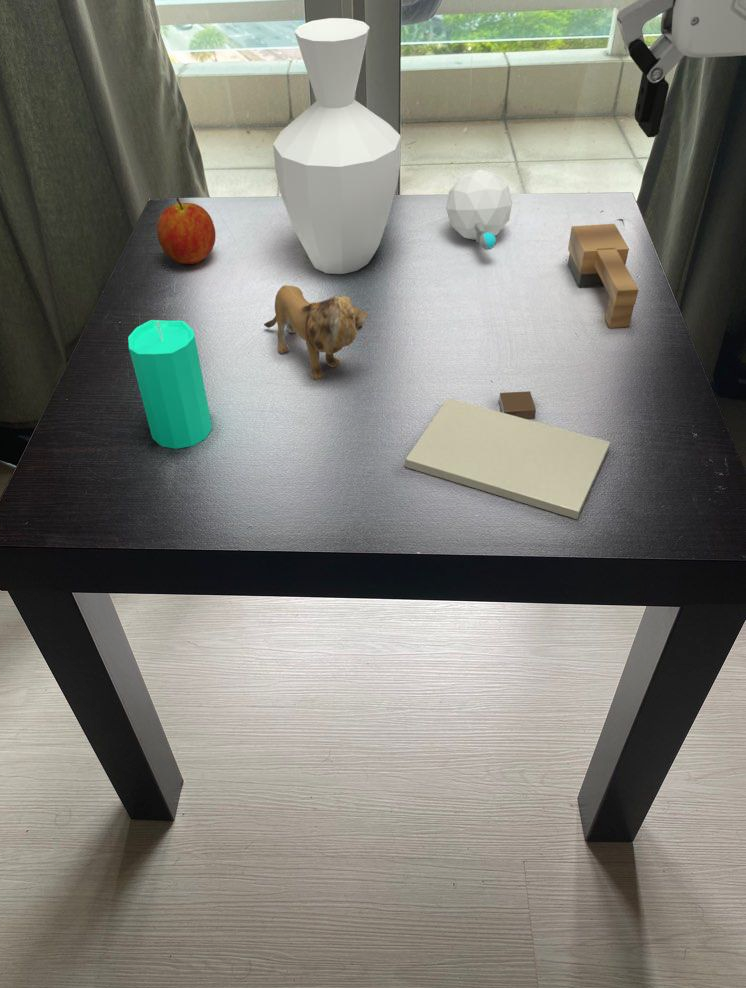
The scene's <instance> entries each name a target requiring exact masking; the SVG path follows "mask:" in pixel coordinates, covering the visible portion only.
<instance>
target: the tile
mask: <svg viewBox="0 0 746 988" xmlns="http://www.w3.org/2000/svg"><path fill="white" fill-rule="evenodd" d="M610 448H611V441H609V440H605V439H602V438H598V437H594V436H590V435H586V434H582V433H579V432H575V431H572V430H568V429H564V428H561V427H557V426H553V425H550V424H547V423H542V422H539V421H534V420H531V419H529V418H527V419H524V418H520V417H517V416H513V415H509V414H506V413H502V411H497V410H494V409H489V408H486V407H483V406H479V405H475V404H473V403H468V402H466V401H461V400H457V399H454V398H450V397H447V398H446V400H445V401H444V402H443V404H442V405H441V407H440V408H439V410H438V411H437V412H436V414H435V416H434V417H433V418H432V419H431V421H430V423H429V424H428V426H427V427H426V429H425V430H424V431H423V433H422V434H421V436H420V437H419V439H418V440H417V442H416V443H415V444H414V446H413V448H412V449H411V451H410V452H409V453H408V455H407V456H406V457H405V459H404V460H405V463H404V464H405V465H404V467H405V468H408V469H411V470H414V471H418V472H421V473H424V474H427V475H430V476H434V477H437V478H439V479H443V480H447V481H450V482H454V483H456V484H460V485H463V486H466V487H468V488H469V487H470V488H473V489H475V490H480V491H481V492H486V493H489V494H493V495H496V496H499V497H502V498H505V499H508V500H512V501H515V502H519V503H522V504H525V505H528V506H531V507H534V508H539V509H542V510H545V511H548V512H551V513H554V514H558V515H561V516H565V517H568V518H570V519H574V520H578V518H579V516H580V515H581V512H582V510H583V507H584V505H585V503H586V501H587V499H588V497H589V494H590V493H591V490H592V488H593V486H594V483H595V481H596V479H597V477H598V475H599V473H600V470H601V468H602V466H603V464H604V462H605V459H606V457H607V454H608V452H609V450H610Z"/></svg>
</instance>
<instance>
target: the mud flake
mask: <svg viewBox="0 0 746 988" xmlns="http://www.w3.org/2000/svg"><path fill="white" fill-rule="evenodd" d="M498 403H499V407H500V412H502V413H506V414H509V415H513V416H517V417H520V418H524V419H535V417H536V412H537V409H536V406H535V402H534V399H533V395H532V392H531V391H510V392H509V391H507V392H506V391H505V392H499V395H498Z"/></svg>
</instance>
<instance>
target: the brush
mask: <svg viewBox="0 0 746 988" xmlns="http://www.w3.org/2000/svg"><path fill="white" fill-rule="evenodd" d="M567 246H568V247H567V249H568V252H569V254H568V260H567V265H568V267H569V269H570V271H571V273H572V275H573V277H574V280H575V282H576V284H577V286H578V288H594V287H604V288H605V290H606V291H607V294H608V296H609V299H608V304H607V308H606V312H605V317H604V319H605V322H606V325H607V327H608V328H609V329H617V328H619V329H620V328H629V327H630V325H631V320H632V317H633V312H634V309H635V305H636V302H637V298H638V293H639V287H638V285H637V284H636V282H635V280H634V279H633V277H632V274H631V273H630V271H629V269H628V268H627V266H626V264H627V259H628V254H629V250H630V248H629V246H628V244H627V242H626V241H625V239H624V237H623V236H622V234H621V232H620V231H619V228H618V227H617V225H616V224H615V223H602V224H601V223H600V224H588V225H587V224H586V225H572V226H571V228H570V234H569V240H568V245H567Z"/></svg>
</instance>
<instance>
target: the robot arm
mask: <svg viewBox="0 0 746 988" xmlns="http://www.w3.org/2000/svg"><path fill="white" fill-rule="evenodd" d="M659 15H661V19H660V33H661V34H660V35H659V37H658V38H657V39H656V40H655V41H654V43H653V44H651V46H650V47H649V46H648V45H647V44H646V42H645V38H644V33H643V29H644V28H643V27H644V26H645V24H646V23H648V22H649V21H651V20H653V19H654V18H656V17H657V16H659ZM616 21H617V25H618V28H619V32H620V36H621V39H622V41H623V44H624V50H625V52H626V53H627V54H628V56H629V57H630V58H631V59H632V61H633V62H634V63H635V66H637V68H638V69H639V70H640V72H641V79H640V84H639V87H638V88H639V89H638V94H637V98H636V104H635V109H634V120H635V122H636V123H637V125H638V127H639V128H640V130H642V132H643V133H644V134H645V136H646V137H647V138H656V136H658V135H659V133H660V128H661V125H662V119H663V116H664V110H665V106H666V102H667V98H668V95H669V94H668V93H669V89H670V84H669V82H668V81H667V80H666V76H667V75H668V74H669V72H670V71H671V70H673V68H674V67H675V66H677V64H678V63H679V62H680V61H681V60H682V59H683V58H684V57H688V58H689V57H690V58H698V59H699V58H701V59H702V58H703V59H704V58H721V57H723V58H724V57H738V56H746V0H636V1H635V2H632V3H631V4H629V5H628V6H626V7H624V8H623V9H621V10H620V11H619V12H618V13H617V16H616Z"/></svg>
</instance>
